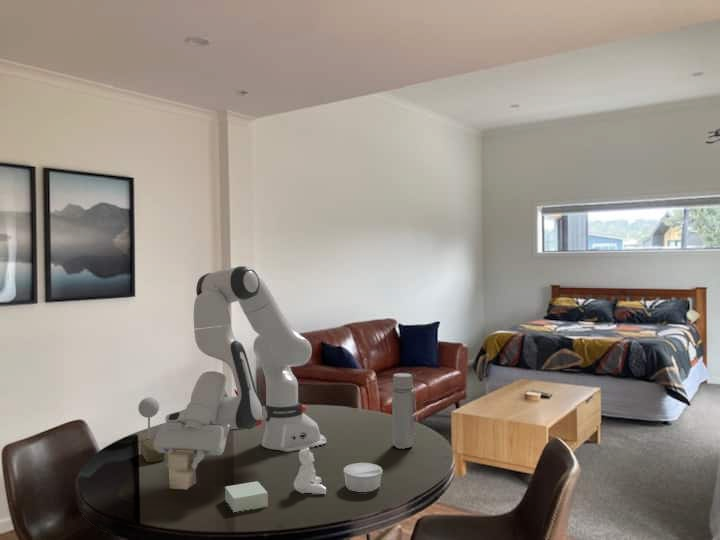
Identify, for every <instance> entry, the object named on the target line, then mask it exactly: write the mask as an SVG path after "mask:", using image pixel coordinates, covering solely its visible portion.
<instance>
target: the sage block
mask: <svg viewBox="0 0 720 540" xmlns="http://www.w3.org/2000/svg"><path fill="white" fill-rule="evenodd" d="M224 493H225V494H224V501H225V500H226V501H225V502H226V504H227V503H228V504H229V505H228V504H227V505H228V507H229V506H230V507H231V508H230V507H229V508H230V510H231V509H232V510H233V511H232V510H231V511H232V512H233V513H234V512H237V513H239V512H238V511H242V512H245V511H244V510H247V511H251V510H250V509H252V510H257V509H263V508H267V507H269V504H268V503H269V498H268V497H269V495H268V494H269V493H268V491H267V490H266V489H265V488H264V486H263V485H261V483H260V482H259V481H256V480H255V481H252V482H251V481H250V482H245V483H239V484H233V485H227V486H224Z"/></svg>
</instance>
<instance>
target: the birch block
mask: <svg viewBox="0 0 720 540" xmlns="http://www.w3.org/2000/svg"><path fill="white" fill-rule="evenodd" d="M167 457H168V460H167V461H169V467H168V475H169V476H168V478H169V479H168V480H169V489H173V490H174V489H175V490H188V489H189V488H191V487H192V486H194V485H195V484H197V475H196V474H197V473H196V472H197V471H196V469H197V468H196V469H190V468H189V464H190V460H194V459H195V457H196V454H195V450H185V449H177V450H176V451H174V452H172V453H170V454H169V455H168V454H167Z"/></svg>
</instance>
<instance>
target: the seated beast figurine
mask: <svg viewBox="0 0 720 540" xmlns="http://www.w3.org/2000/svg"><path fill="white" fill-rule="evenodd" d="M298 458H299V461H300V463H301V465H300V466H299V470H298V472H297V473H298V474H297V475H296V477H295V479H294V481H293V486H294V489H295V492H296V491H297V492H298V493H299V492H300V494H304V493H312V494H311V495H319V494H324V495H326V494H327V486H325V485H323V484H322V478H321V477H320V476H318V475H317V476H316V469H315V467H314V462H315V457H314V453H313V452H312V451H310V448H304V449H300V450H299V452H298ZM320 483H321V484H320Z"/></svg>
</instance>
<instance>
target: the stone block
mask: <svg viewBox="0 0 720 540" xmlns="http://www.w3.org/2000/svg"><path fill="white" fill-rule="evenodd" d="M154 441H155V438H154V439H145V440H144V439H143V440H141V442H140V453H141V455H142V457H143V458H144V460H145V461H146V463H157V462H159V461H160V462H164V461H165V460H166V457H165V456H166V455H165V454H166V453H159V452H158V451H157V450H156V449H155V447H154ZM160 462H159V463H160Z"/></svg>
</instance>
